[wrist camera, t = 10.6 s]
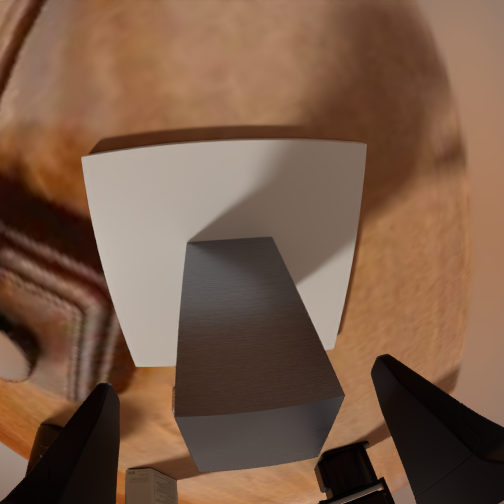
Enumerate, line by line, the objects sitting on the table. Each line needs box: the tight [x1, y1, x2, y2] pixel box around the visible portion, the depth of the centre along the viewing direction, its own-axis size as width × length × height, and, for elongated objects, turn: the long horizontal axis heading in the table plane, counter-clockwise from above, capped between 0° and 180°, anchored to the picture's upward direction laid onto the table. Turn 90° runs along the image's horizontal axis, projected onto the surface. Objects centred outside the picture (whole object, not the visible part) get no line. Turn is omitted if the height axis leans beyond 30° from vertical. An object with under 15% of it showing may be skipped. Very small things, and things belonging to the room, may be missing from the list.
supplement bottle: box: [25, 424, 63, 476], centre depth 18 cm, size 7×7×12 cm
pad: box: [81, 138, 367, 367], centre depth 15 cm, size 13×13×1 cm
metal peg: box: [174, 237, 345, 472], centre depth 11 cm, size 4×4×9 cm
